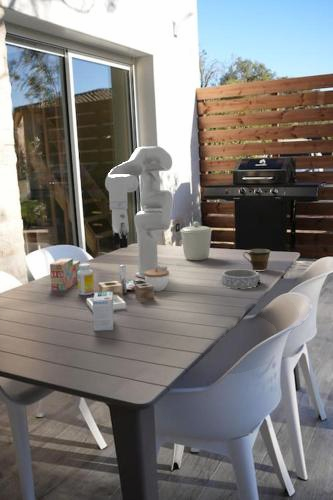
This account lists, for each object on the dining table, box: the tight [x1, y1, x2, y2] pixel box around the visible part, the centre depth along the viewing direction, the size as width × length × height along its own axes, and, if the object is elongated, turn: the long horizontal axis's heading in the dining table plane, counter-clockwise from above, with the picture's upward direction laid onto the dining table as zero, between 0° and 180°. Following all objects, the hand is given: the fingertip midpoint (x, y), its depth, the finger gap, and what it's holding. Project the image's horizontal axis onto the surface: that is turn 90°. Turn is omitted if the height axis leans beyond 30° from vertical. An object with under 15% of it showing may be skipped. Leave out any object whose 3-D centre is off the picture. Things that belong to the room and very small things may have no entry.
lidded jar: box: [144, 268, 170, 292], centre depth 223 cm, size 11×11×9 cm
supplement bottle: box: [77, 263, 95, 296], centre depth 218 cm, size 7×7×13 cm
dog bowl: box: [219, 268, 262, 289], centre depth 227 cm, size 17×18×5 cm
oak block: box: [98, 280, 124, 300], centre depth 212 cm, size 8×8×6 cm
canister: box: [179, 221, 213, 261], centre depth 284 cm, size 18×18×21 cm
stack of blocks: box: [49, 257, 81, 291], centre depth 236 cm, size 21×6×12 cm, turn 169°
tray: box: [85, 295, 127, 313], centre depth 199 cm, size 13×13×2 cm
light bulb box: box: [92, 291, 115, 332], centre depth 176 cm, size 11×7×11 cm, turn 5°
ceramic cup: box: [243, 248, 271, 270], centre depth 252 cm, size 13×10×10 cm
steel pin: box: [118, 264, 128, 294], centre depth 218 cm, size 3×3×12 cm
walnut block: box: [134, 282, 155, 303], centre depth 207 cm, size 6×6×6 cm
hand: (120, 246), depth 216 cm, fingers open, 9 cm apart
